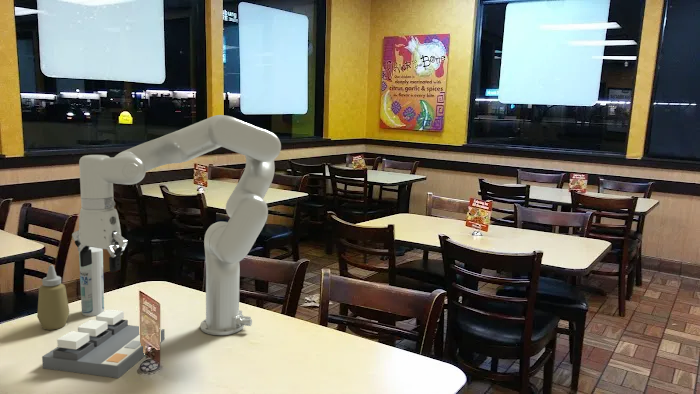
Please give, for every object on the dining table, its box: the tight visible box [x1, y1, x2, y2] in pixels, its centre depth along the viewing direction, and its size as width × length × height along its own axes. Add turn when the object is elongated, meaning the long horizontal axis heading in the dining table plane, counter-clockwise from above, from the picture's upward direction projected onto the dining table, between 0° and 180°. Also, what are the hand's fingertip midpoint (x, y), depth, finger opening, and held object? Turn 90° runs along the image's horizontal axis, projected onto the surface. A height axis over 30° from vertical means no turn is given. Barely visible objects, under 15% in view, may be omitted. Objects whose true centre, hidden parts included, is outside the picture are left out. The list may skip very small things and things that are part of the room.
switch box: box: [41, 318, 166, 379], centre depth 138 cm, size 20×22×5 cm
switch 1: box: [56, 330, 90, 349], centre depth 131 cm, size 5×5×2 cm
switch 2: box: [77, 319, 108, 337], centre depth 138 cm, size 5×5×2 cm
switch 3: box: [95, 309, 125, 325], centre depth 146 cm, size 5×5×2 cm
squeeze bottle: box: [36, 264, 70, 331], centre depth 152 cm, size 8×8×18 cm
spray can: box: [78, 247, 105, 317], centre depth 162 cm, size 6×6×20 cm
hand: (100, 268), depth 139 cm, fingers open, 9 cm apart
